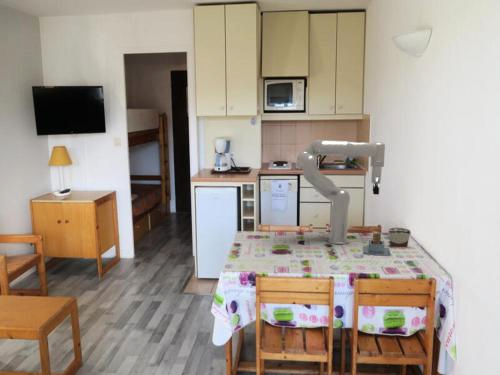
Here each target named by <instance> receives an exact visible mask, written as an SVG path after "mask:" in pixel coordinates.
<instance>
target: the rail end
mask: <svg viewBox="0 0 500 375" xmlns="http://www.w3.org/2000/svg"><path fill="white" fill-rule="evenodd" d="M381 237H382V233H381V231H374V230H373V231H372V240H373V242H372V244H380V243H381V241H382V239H381Z"/></svg>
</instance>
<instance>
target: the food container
mask: <svg viewBox="0 0 500 375" xmlns="http://www.w3.org/2000/svg"><path fill="white" fill-rule="evenodd" d="M387 233H388V234H389V248H399V247H407V248H408V245H409V240H410V235H412V232H411V230H410V229H408V228H404V227H391V228H389V230H388V232H387Z"/></svg>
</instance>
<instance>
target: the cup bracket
mask: <svg viewBox="0 0 500 375" xmlns="http://www.w3.org/2000/svg"><path fill="white" fill-rule="evenodd" d="M372 242H373V239H369V240H368V245H362V255H369V256H370V255H371V256H381V257H383V256H385V257H391V251H390V247H385V245H386V244H385V240H381V243H380V244H372Z"/></svg>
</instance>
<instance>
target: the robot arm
mask: <svg viewBox="0 0 500 375" xmlns="http://www.w3.org/2000/svg"><path fill="white" fill-rule="evenodd" d="M385 150H386V144H385V143H384V142H379V141H377V142H367V141H362V142H354V141H348V140H331V139H326V140H325V139H316V140H313V141H312V142H311V143H310V144H309V145H307V147H305V148H304V149H303V150H302V151H301V152H299V154H298V155H297V156H296V162H297V165H298V166H300V167H301V168H302V175H303V178H304V179H305V180H306V182H308V183H309V184H310V185H311V186H312V187H313V189H314V190H315V192H317V193H319V194H320V195H321V196H323V197H324V198H325V199H326V200H328V201H330V202H331V203H332V205H331V210H330V211H331V212H330V233H329V232H328V233H322V237H324V238H325V239H326V238H327V242H328V243H330V244H333V245H346V244H350V239H349V238H348V220H349V219H348V218H349V217H348V216H349V207H350V199H351V198H350V197H351V196H350V193H349V192H348V191H347V190H346V189H345V188H343V187H342V188H341V187H339V186H337V185H336V184H334V183H335V182H334V181H332V180H331V179H330V178H328V177H327V176H326V175H325V174H323V173H322V172H321V171H319V170H318V167H317V162H318V161H317V157H318V156H320V155H321V156H335V157H336V156H338V157H367V158H368V157H369V158H370V167H371V181H370V183H371V184H372V191H373V192H372V194H373V195H379V194H380V184H381V179H382V178H381V177H382V168H383V167H384V166H385V155H386V154H385Z"/></svg>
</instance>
